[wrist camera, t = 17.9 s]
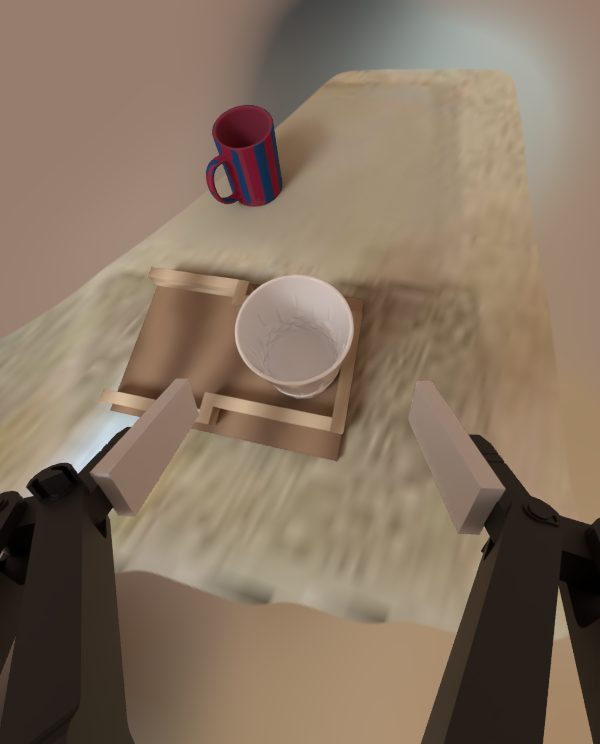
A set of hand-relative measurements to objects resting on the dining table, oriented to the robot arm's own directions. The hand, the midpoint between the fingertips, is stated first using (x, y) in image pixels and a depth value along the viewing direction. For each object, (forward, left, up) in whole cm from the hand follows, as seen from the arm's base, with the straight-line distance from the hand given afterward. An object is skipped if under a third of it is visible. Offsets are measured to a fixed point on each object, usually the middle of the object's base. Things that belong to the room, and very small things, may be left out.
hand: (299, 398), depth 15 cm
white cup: (-1, +5, -11) cm, 12 cm away
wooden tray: (-8, +5, -11) cm, 15 cm away
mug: (-13, +27, -12) cm, 32 cm away
